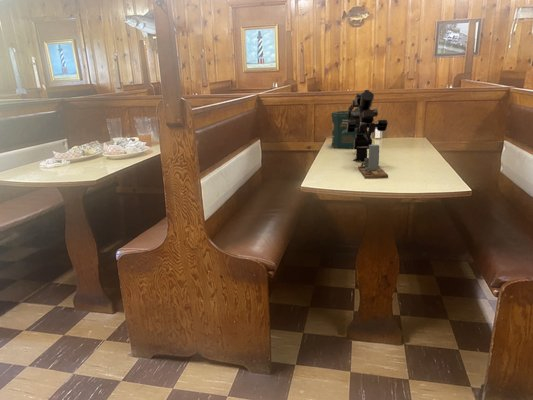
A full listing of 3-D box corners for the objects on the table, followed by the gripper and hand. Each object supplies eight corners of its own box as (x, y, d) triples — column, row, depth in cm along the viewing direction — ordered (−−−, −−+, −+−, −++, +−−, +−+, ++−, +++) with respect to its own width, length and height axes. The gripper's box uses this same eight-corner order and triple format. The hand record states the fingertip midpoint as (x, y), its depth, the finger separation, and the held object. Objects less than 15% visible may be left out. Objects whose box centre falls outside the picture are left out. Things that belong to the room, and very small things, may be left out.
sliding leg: (364, 170, 198) (365, 144, 195) (377, 169, 198) (378, 144, 195) (365, 171, 195) (366, 146, 192) (378, 171, 195) (379, 145, 192)
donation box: (357, 149, 258) (358, 101, 250) (330, 148, 263) (330, 101, 255) (360, 144, 272) (361, 98, 264) (334, 144, 277) (334, 99, 269)
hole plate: (357, 168, 209) (358, 158, 207) (378, 168, 208) (379, 157, 207) (365, 178, 190) (365, 167, 189) (388, 177, 190) (388, 166, 188)
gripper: (347, 103, 206) (350, 130, 199) (387, 102, 205) (392, 129, 198) (345, 118, 216) (348, 144, 208) (383, 117, 215) (387, 143, 207)
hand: (368, 140), depth 205 cm, fingers closed
